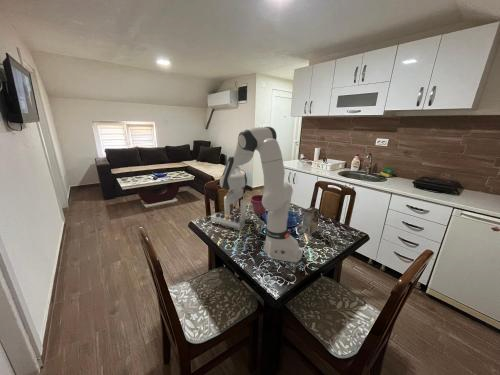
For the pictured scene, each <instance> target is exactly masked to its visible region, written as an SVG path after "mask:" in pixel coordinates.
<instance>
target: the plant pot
mask: <svg viewBox="0 0 500 375" xmlns="http://www.w3.org/2000/svg"><path fill="white" fill-rule="evenodd" d="M262 198H263V194H256V195H252V196H251V197H250V204H251V205H252V209H253V210H252V211H253V214H255V215H257V214H259V215H258V216H261V215H260V214H262V213H264V212H265V213H266V209H265V208H264V206H263V204H262ZM265 213H264V214H265ZM262 215H263V214H262Z"/></svg>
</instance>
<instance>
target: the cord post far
mask: <svg viewBox="0 0 500 375" xmlns="http://www.w3.org/2000/svg"><path fill="white" fill-rule="evenodd" d="M223 204H224V209H223V210H224V214H225V215H230V216H231V211H230V210H231V208H230V206H231V205H228V204H226V195H225V196H224V197H223Z"/></svg>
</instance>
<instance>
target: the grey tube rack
mask: <svg viewBox="0 0 500 375" xmlns="http://www.w3.org/2000/svg"><path fill="white" fill-rule="evenodd" d="M211 221H213V222H216V223H220V224H223V225H226V226H230V227H233V228H235V229H234V230H236V229H239V230H238V231H240V230H241V229H242V228H243V227H244V226H245V225H246V224H245V223H246V221H245V219H241V217H239V216H236V217H235V216H234V215H232V216H231V214H230V215H225V213H220V212H215V213H214V214H213V215H211V216H210V222H211ZM245 227H246V226H245ZM245 227H244V228H245ZM244 228H243V229H244ZM241 231H242V230H241Z"/></svg>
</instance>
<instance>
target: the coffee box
mask: <svg viewBox="0 0 500 375" xmlns="http://www.w3.org/2000/svg"><path fill="white" fill-rule="evenodd" d="M319 217H320V208H317V207H313V206H309V207H308V208H306V209H303V216H302V224H301V225H302V226H301V232H302V233H304V234H307V235H308V236H310V235H312V234H314V233H315V232H317V231H318V224H319Z"/></svg>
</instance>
